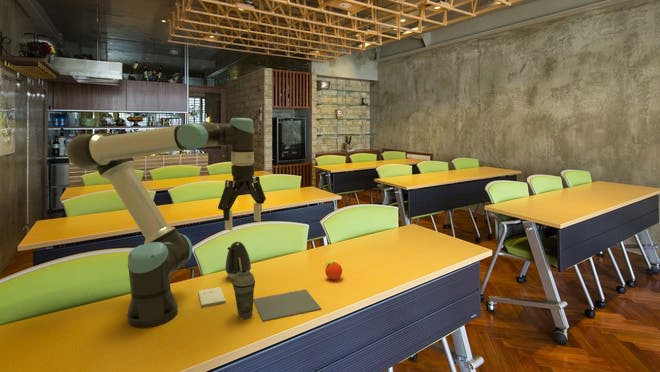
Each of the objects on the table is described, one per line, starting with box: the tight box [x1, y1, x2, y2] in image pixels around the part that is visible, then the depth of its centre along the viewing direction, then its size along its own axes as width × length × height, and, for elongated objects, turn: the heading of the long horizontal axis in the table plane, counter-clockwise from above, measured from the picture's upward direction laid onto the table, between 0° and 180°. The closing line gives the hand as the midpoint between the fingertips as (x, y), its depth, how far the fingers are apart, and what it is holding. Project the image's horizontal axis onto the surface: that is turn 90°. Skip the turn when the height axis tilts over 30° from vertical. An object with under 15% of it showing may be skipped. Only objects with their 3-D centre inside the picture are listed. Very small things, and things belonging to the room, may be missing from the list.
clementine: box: [323, 261, 343, 281], centre depth 151 cm, size 8×7×7 cm
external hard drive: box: [197, 286, 227, 309], centre depth 136 cm, size 2×8×12 cm
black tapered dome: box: [224, 241, 252, 280], centre depth 153 cm, size 10×10×15 cm
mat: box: [253, 289, 322, 322], centre depth 130 cm, size 20×16×1 cm
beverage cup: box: [232, 257, 256, 320], centre depth 121 cm, size 7×7×20 cm
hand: (243, 225), depth 129 cm, fingers open, 13 cm apart
